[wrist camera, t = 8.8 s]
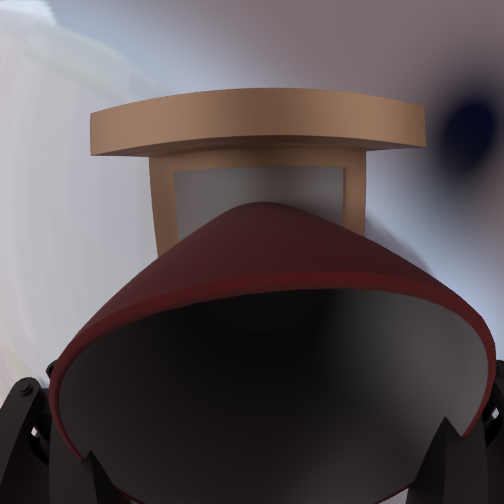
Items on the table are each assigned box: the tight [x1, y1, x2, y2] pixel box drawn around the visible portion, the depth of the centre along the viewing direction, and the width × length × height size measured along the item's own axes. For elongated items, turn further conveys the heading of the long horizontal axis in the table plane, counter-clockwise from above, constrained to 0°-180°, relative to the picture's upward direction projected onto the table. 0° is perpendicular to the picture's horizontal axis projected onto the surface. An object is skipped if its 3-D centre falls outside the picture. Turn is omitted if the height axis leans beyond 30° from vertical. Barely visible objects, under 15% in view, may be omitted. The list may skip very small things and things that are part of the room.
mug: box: [49, 202, 496, 504], centre depth 9 cm, size 12×9×11 cm
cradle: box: [90, 88, 426, 258], centre depth 14 cm, size 12×20×7 cm, turn 2°
